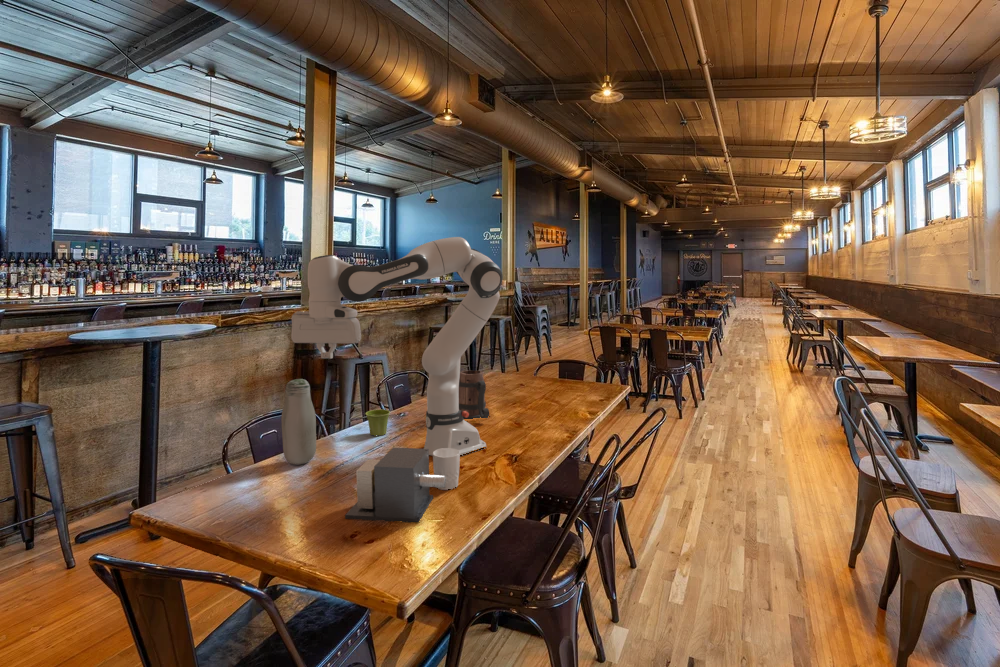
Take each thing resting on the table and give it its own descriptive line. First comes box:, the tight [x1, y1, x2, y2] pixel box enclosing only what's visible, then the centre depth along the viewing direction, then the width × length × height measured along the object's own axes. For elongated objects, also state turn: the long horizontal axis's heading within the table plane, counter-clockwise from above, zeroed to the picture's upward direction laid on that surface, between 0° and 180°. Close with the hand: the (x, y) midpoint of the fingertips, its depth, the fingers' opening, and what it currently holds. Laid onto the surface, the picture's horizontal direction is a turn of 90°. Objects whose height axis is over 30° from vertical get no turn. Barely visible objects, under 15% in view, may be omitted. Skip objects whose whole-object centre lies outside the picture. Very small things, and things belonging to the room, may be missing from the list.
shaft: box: [356, 459, 446, 509], centre depth 129 cm, size 22×8×10 cm, turn 83°
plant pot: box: [365, 408, 391, 437], centre depth 193 cm, size 9×9×9 cm
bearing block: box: [344, 447, 434, 523], centre depth 129 cm, size 19×14×14 cm
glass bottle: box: [280, 378, 317, 466], centre depth 161 cm, size 10×10×28 cm
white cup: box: [432, 448, 461, 491], centre depth 144 cm, size 8×8×10 cm
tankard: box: [459, 370, 490, 419], centre depth 215 cm, size 24×17×20 cm
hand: (327, 358), depth 145 cm, fingers closed
